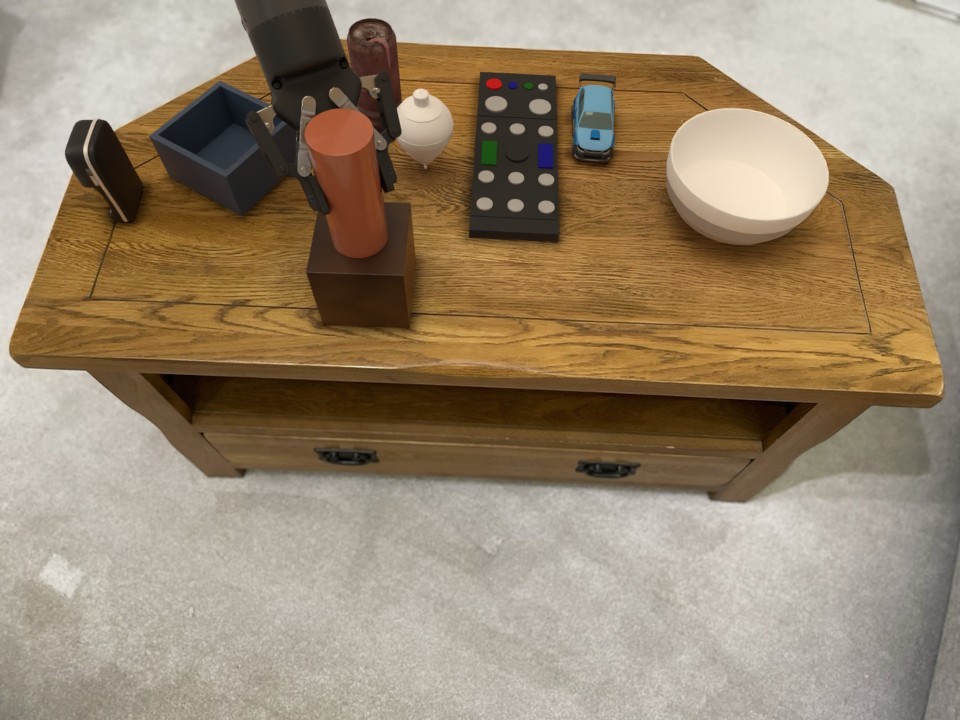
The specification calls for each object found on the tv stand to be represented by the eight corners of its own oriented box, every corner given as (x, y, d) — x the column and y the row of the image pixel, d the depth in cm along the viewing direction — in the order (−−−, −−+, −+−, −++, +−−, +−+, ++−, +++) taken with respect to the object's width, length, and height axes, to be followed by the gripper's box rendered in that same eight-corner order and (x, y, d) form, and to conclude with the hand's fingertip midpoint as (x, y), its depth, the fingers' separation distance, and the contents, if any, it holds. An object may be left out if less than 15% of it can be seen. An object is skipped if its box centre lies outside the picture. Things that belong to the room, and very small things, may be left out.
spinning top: (386, 161, 90) (377, 85, 79) (435, 140, 92) (432, 64, 82) (414, 197, 87) (408, 123, 76) (464, 175, 89) (465, 100, 78)
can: (385, 144, 91) (374, 53, 79) (351, 124, 93) (335, 32, 81) (413, 121, 94) (407, 29, 82) (380, 102, 96) (368, 9, 84)
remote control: (554, 84, 99) (556, 72, 97) (557, 242, 84) (559, 231, 82) (479, 80, 99) (480, 68, 97) (469, 237, 84) (469, 226, 82)
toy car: (569, 164, 90) (575, 131, 85) (571, 106, 96) (577, 71, 91) (612, 168, 90) (620, 135, 85) (611, 109, 96) (619, 75, 91)
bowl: (817, 197, 89) (850, 146, 81) (766, 292, 80) (797, 246, 73) (687, 140, 93) (707, 88, 86) (627, 225, 85) (643, 175, 78)
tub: (242, 216, 84) (225, 177, 78) (169, 176, 87) (148, 136, 82) (305, 157, 90) (294, 116, 84) (235, 122, 93) (219, 80, 87)
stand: (323, 325, 76) (305, 272, 68) (334, 257, 81) (319, 199, 73) (409, 328, 77) (403, 275, 68) (415, 259, 82) (410, 202, 73)
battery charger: (115, 184, 87) (71, 112, 77) (145, 183, 87) (105, 111, 77) (103, 225, 83) (55, 155, 73) (134, 224, 83) (90, 154, 73)
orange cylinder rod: (365, 267, 68) (345, 165, 56) (319, 242, 70) (290, 137, 58) (399, 229, 71) (387, 124, 59) (354, 206, 72) (333, 99, 60)
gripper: (206, 30, 53) (290, 229, 59) (371, -16, 57) (436, 176, 62) (208, 51, 60) (283, 228, 65) (355, 10, 64) (415, 180, 69)
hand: (358, 202), depth 64 cm, fingers closed on orange cylinder rod, 6 cm apart
